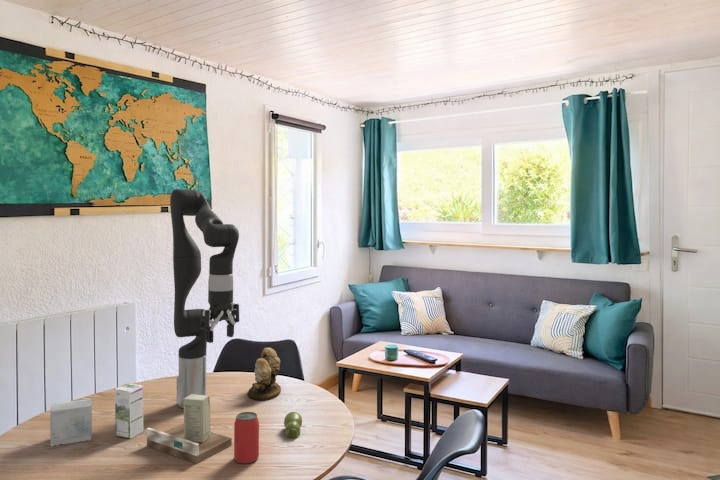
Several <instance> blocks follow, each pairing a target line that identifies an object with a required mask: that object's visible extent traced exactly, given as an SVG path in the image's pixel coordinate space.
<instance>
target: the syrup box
mask: <svg viewBox="0 0 720 480" xmlns="http://www.w3.org/2000/svg"><path fill="white" fill-rule="evenodd" d="M114 412H115V414H114V416H115V417H114V420H115V422H114V423H115V436H116V437H120V438H123V439H124V438H125V439H133V438H135V437H137V436H139V435H141V434H142V433H144V430H145V429H144V386H143V385H141V384H134V383H125V384H122V385H121V386H118V387H116V388H115V389H114Z"/></svg>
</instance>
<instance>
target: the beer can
mask: <svg viewBox="0 0 720 480" xmlns="http://www.w3.org/2000/svg"><path fill="white" fill-rule="evenodd" d="M233 425H234V426H233V427H234V428H233V429H234V430H233V431H234V434H233V435H234V436H233V437H234V438H233V441H234V443H233V447H234V448H233V453H234V454H233V456H234V457H233V459H234V461H235V463H239V464H244V465H245V464H251V463H253V462H255V461H257V460H258V458H259V457H260V456H259V455H260V440H259V439H260V421H259V418H258V414H257V413H256V412H254V411H244V412H239V413H238V414H236V416H235V420H234V424H233Z"/></svg>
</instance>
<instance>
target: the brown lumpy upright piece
mask: <svg viewBox="0 0 720 480" xmlns="http://www.w3.org/2000/svg"><path fill="white" fill-rule="evenodd" d="M280 367H281V359H280V357H279V356H278V354H277V352H276V350H275V349H273V348H272V347H264V348H263V350H262V351H261V353H260V358H258V359H257V358H256V362H255V364H254V371H253V372H254V377H255V378H254V379H255V382H254V383H252V384H251V387H250V388H249V389H248V391H247V396H248V398H249V399H252V400H254V401H262V402H263V401H270V400H273V399H276V398H277V397H278V396H279V395H281V391H282V390H281V389H282V387H281V385H279V383H277V381H276V380H277V379H276V377H277V376H278V375H279V371H280V369H281V368H280Z"/></svg>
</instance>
